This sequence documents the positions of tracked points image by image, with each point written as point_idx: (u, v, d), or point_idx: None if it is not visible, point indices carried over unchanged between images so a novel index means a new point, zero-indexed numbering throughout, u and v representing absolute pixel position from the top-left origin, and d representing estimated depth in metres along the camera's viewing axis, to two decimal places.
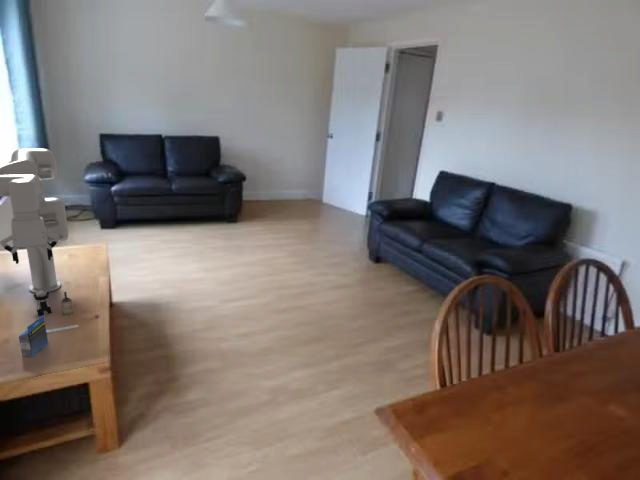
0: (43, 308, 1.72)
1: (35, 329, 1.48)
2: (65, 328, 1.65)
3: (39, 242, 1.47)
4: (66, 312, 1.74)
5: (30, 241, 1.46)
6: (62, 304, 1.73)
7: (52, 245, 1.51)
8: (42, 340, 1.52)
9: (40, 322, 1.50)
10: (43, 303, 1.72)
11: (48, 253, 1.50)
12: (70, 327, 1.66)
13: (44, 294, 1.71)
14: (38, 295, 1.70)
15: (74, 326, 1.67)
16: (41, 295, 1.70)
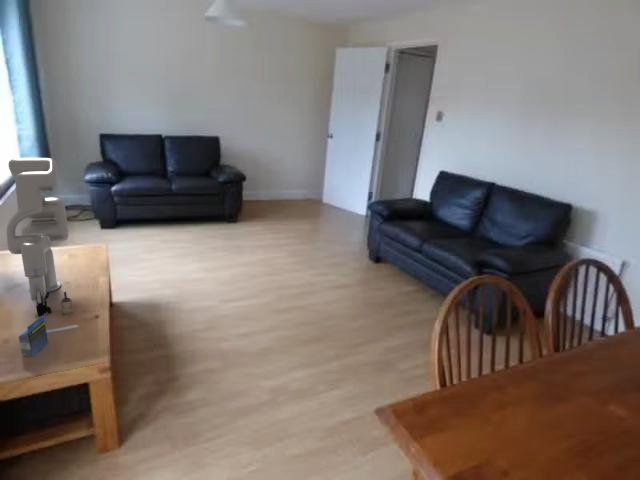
0: None
1: (35, 329, 1.48)
2: (65, 328, 1.65)
3: None
4: (66, 312, 1.74)
5: (45, 289, 1.72)
6: (62, 304, 1.73)
7: None
8: (42, 340, 1.52)
9: (40, 322, 1.50)
10: None
11: None
12: (70, 327, 1.66)
13: None
14: None
15: (74, 326, 1.67)
16: None
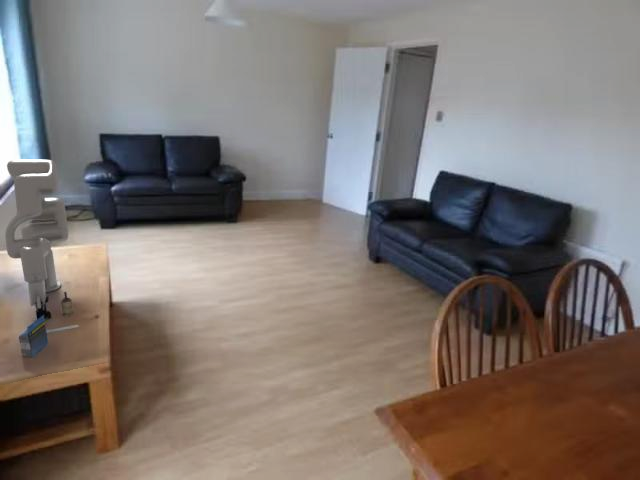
0: None
1: (35, 329, 1.48)
2: (65, 328, 1.65)
3: None
4: (66, 312, 1.74)
5: (45, 294, 1.68)
6: (62, 304, 1.73)
7: None
8: (42, 340, 1.52)
9: (40, 322, 1.50)
10: None
11: None
12: (70, 327, 1.66)
13: None
14: None
15: (74, 326, 1.67)
16: None
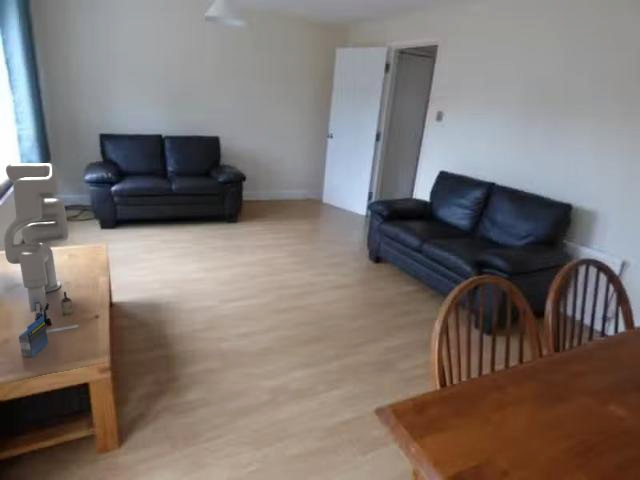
0: None
1: (35, 329, 1.48)
2: (65, 328, 1.65)
3: None
4: (66, 312, 1.74)
5: (45, 300, 1.63)
6: (62, 304, 1.73)
7: None
8: (42, 340, 1.52)
9: (40, 322, 1.50)
10: None
11: None
12: (70, 327, 1.66)
13: None
14: None
15: (74, 326, 1.67)
16: None
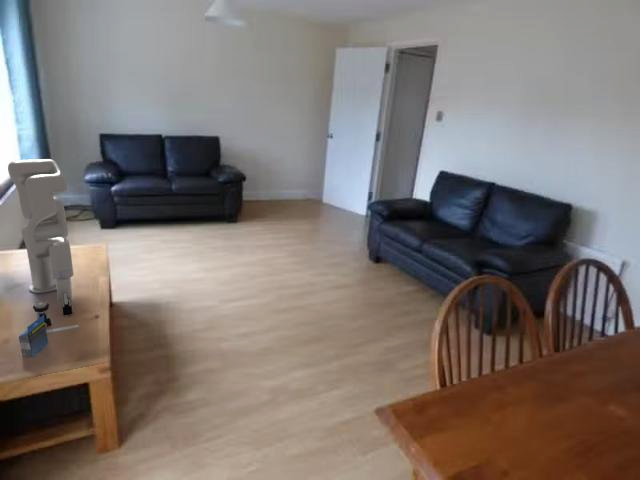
0: None
1: (35, 329, 1.48)
2: (65, 328, 1.65)
3: None
4: None
5: None
6: (62, 304, 1.73)
7: (68, 296, 1.78)
8: (42, 340, 1.52)
9: (40, 322, 1.50)
10: (42, 315, 1.64)
11: None
12: (70, 327, 1.66)
13: (43, 306, 1.62)
14: (37, 307, 1.61)
15: (74, 326, 1.67)
16: (40, 307, 1.62)
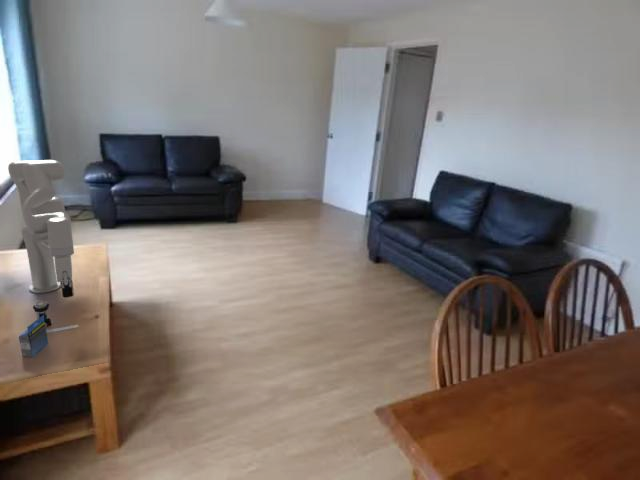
0: None
1: (35, 329, 1.48)
2: (65, 328, 1.65)
3: None
4: None
5: None
6: None
7: None
8: (42, 340, 1.52)
9: (40, 322, 1.50)
10: (42, 315, 1.64)
11: None
12: (70, 327, 1.66)
13: (43, 306, 1.62)
14: (37, 307, 1.61)
15: (74, 326, 1.67)
16: (40, 307, 1.62)
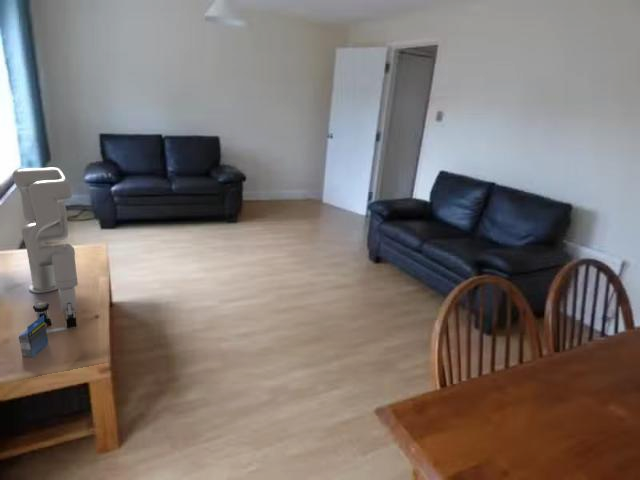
0: None
1: (35, 329, 1.48)
2: (65, 328, 1.65)
3: None
4: None
5: None
6: (66, 317, 1.63)
7: None
8: (42, 340, 1.52)
9: (40, 322, 1.50)
10: (42, 315, 1.64)
11: None
12: None
13: (43, 306, 1.62)
14: (37, 306, 1.61)
15: None
16: (40, 307, 1.62)
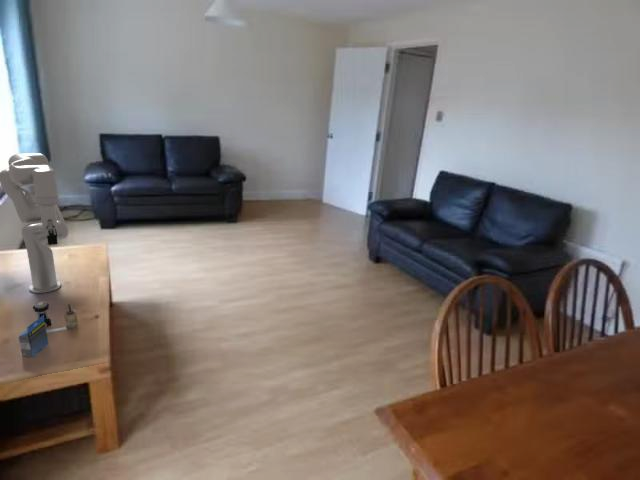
0: None
1: (35, 329, 1.48)
2: (65, 328, 1.65)
3: None
4: (70, 325, 1.65)
5: None
6: (66, 317, 1.63)
7: None
8: (42, 340, 1.52)
9: (40, 322, 1.50)
10: (42, 315, 1.64)
11: (56, 230, 1.75)
12: None
13: (43, 306, 1.62)
14: (37, 306, 1.61)
15: None
16: (40, 307, 1.62)
